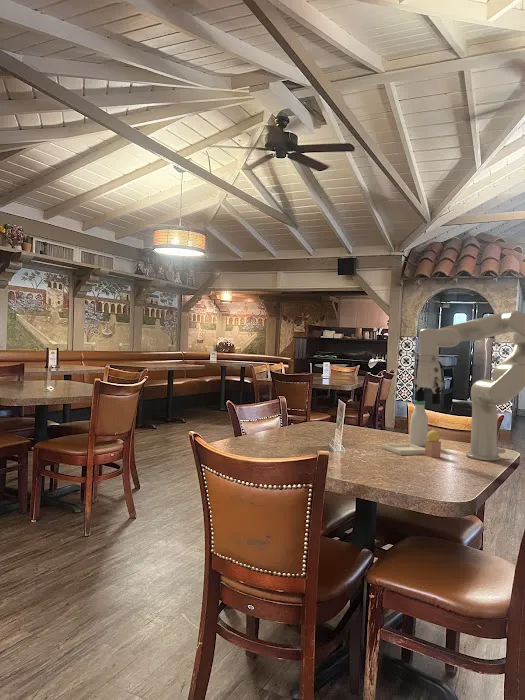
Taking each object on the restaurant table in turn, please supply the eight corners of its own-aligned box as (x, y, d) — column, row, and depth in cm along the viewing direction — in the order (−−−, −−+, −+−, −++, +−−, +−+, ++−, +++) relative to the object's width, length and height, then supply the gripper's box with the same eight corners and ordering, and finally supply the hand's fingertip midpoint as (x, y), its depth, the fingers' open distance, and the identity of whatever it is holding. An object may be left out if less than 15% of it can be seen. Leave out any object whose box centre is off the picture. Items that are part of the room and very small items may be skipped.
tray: (409, 447, 223) (409, 443, 223) (429, 454, 210) (429, 449, 210) (381, 448, 219) (381, 443, 219) (399, 455, 205) (400, 450, 205)
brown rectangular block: (433, 454, 209) (434, 440, 209) (440, 457, 205) (441, 442, 205) (424, 455, 208) (425, 440, 208) (431, 457, 204) (432, 442, 204)
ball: (434, 441, 209) (435, 429, 209) (442, 443, 205) (442, 431, 205) (424, 441, 208) (424, 429, 208) (431, 443, 203) (432, 431, 203)
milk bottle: (429, 447, 227) (431, 401, 226) (411, 446, 227) (413, 401, 227) (424, 443, 234) (425, 400, 234) (407, 443, 234) (408, 399, 234)
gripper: (451, 360, 197) (450, 404, 197) (422, 359, 213) (422, 400, 213) (434, 360, 194) (434, 405, 194) (407, 359, 211) (406, 400, 211)
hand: (427, 402), depth 204 cm, fingers open, 9 cm apart
